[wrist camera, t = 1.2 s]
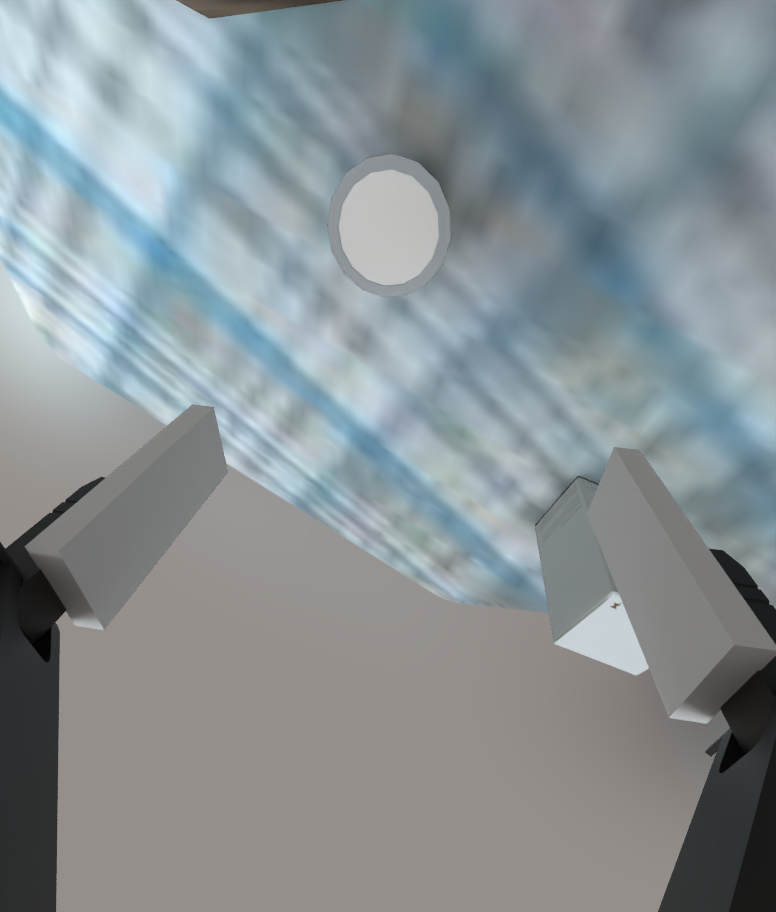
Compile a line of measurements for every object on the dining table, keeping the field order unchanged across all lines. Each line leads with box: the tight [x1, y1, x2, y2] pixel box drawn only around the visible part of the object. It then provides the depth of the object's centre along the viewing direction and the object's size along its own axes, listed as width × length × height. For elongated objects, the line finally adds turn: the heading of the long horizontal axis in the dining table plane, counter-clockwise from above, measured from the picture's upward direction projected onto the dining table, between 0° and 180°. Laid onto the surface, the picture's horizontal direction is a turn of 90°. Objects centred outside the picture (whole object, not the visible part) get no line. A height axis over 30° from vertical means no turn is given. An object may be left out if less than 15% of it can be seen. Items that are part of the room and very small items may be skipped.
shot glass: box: [327, 154, 451, 297], centre depth 25 cm, size 7×7×7 cm
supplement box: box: [535, 477, 649, 675], centre depth 34 cm, size 7×7×13 cm
